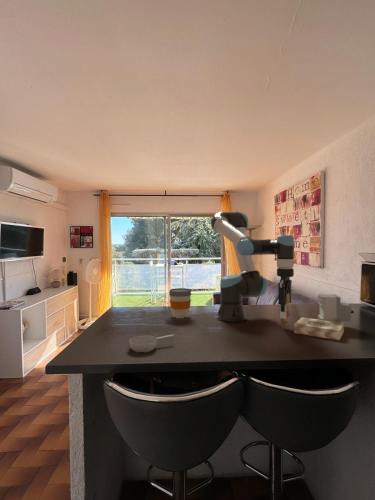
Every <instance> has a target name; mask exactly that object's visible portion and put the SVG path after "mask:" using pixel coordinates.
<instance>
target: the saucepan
mask: <svg viewBox="0 0 375 500" xmlns="http://www.w3.org/2000/svg"><path fill="white" fill-rule="evenodd" d="M174 336H175V334H174V333H173V334H167V335H162V336H159V337H156V336H154V335H138V336H133V337H132V338H130V339H129V340H128V341H129V346H130V349H131V350H132V351H133V352H135V353H139V352H144V353H149V352H151V351H154V350H155V348H156V346H157V345H158V340H163V339H166V338H171V337H174Z"/></svg>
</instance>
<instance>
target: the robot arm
mask: <svg viewBox="0 0 375 500" xmlns="http://www.w3.org/2000/svg"><path fill="white" fill-rule="evenodd" d="M210 226H211V228H212V230H214V231H215V232H216V233H218V234H221V235H222V236H224V237H225V238H226V239H227V240H229V241H230V242H231V243H232V245H233V249H234V252H235V257H236V260H237V264H238V268H239V274H229V275H225V276H222V277H221V278H220V283H219V287H220V288H219V289H220V291H219V292H220V293H219V294H220V305H219V309H218V310H217V311H218V312H217V320H219V321H223V322H231V323H234V322H235V323H236V322H237V323H238V322H243V321H245V320H246V318H247V317H246V312H245V309H244V306H243V299H248V298H258V297H262V296H263V295H265V294H266V293H267V289H268V282H267V278H266V277H265V276H264V275H261V274H260V271H259V270H258V269H256V266H255V263H254V260H253V256H258V255H259V256H260V255H262V256H263V255H264V256H266V255H271V256H272V255H274V256H275V255H276V267H277V268H276V276H277V277H280V280H279V282H278V283H277V287H278V302H277V303H278V305H279V318H280V319H281V318H284V319H286V307H287V305H286V293H289V294H290V295H289V304H290V303H292V279H290V278H293V277H294V276H295V275H294V274H295V271H294V264H295V263H296V261H295V259H294V258H295V237H294V235H291V234H290V235H287V234H286V235H285V234H284V235H282V234H281V235H278V236H276V237H277V238H276V239H271V238H268V239H254V238H252V237H250V236H248V235H247V234H246V233H247V231H248V228H249V219H248V217H247V215H246V214H245V213H244V212H239V211H235V212H234V211H219V212H216V213H215V214H213V215H212V217H211V219H210Z"/></svg>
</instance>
